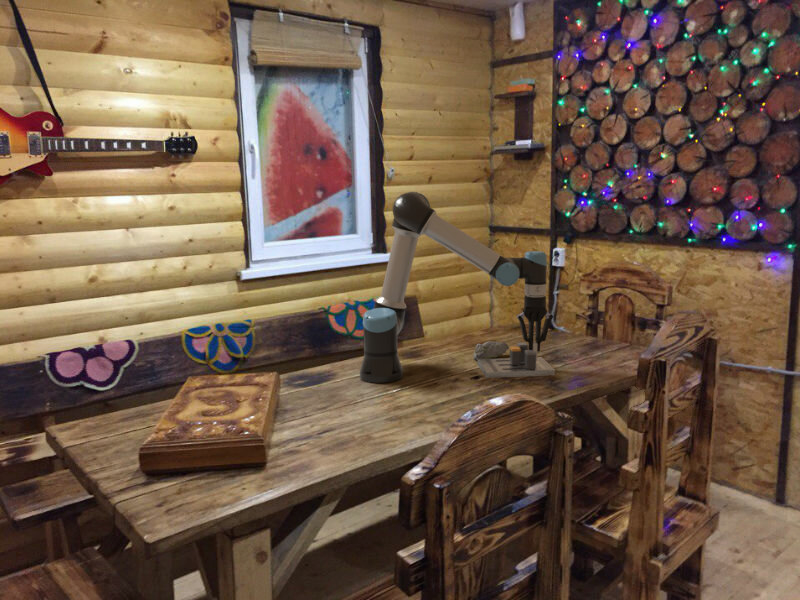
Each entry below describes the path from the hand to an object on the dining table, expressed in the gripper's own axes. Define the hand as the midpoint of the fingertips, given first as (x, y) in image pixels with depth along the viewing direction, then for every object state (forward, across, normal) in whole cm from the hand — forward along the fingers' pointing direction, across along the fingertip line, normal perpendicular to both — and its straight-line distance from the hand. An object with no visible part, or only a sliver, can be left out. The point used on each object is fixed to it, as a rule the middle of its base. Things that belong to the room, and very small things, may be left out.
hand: (534, 360), depth 233 cm
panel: (+3, -7, 0) cm, 8 cm away
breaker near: (+1, -3, -5) cm, 6 cm away
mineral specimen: (+4, -13, +17) cm, 22 cm away
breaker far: (+1, -3, +6) cm, 6 cm away
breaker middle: (+1, -7, 0) cm, 7 cm away
